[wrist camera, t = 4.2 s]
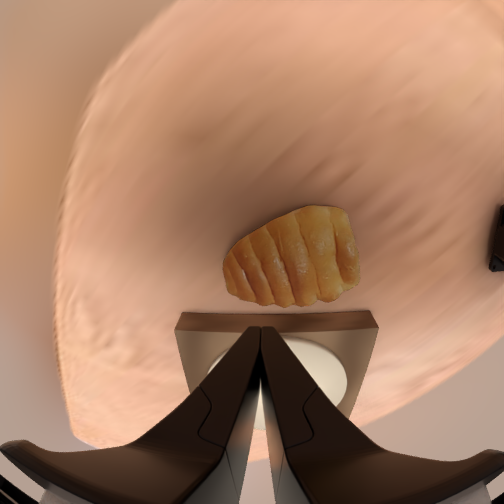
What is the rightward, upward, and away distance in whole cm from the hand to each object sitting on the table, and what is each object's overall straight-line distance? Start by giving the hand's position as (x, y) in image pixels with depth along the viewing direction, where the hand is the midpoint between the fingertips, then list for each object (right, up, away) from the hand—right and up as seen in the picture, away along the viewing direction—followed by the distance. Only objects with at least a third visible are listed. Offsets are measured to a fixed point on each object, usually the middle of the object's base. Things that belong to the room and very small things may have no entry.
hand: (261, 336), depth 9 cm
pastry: (0, +5, +12) cm, 13 cm away
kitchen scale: (+2, -8, +16) cm, 18 cm away
